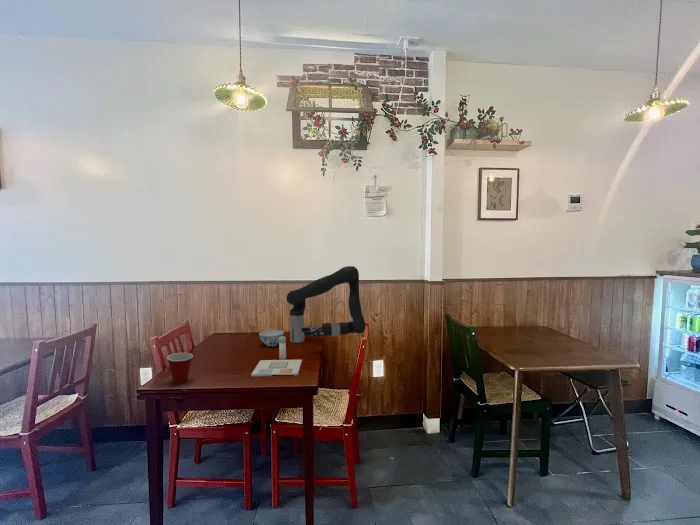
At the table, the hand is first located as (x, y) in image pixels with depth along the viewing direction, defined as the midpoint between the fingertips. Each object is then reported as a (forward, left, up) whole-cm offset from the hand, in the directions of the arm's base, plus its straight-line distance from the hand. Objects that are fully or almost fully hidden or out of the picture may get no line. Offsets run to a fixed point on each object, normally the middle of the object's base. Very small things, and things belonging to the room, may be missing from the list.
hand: (302, 331), depth 192 cm
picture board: (+18, -11, -14) cm, 25 cm away
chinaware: (-24, -22, -14) cm, 35 cm away
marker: (+3, -11, -14) cm, 18 cm away
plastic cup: (+32, -53, -14) cm, 63 cm away
